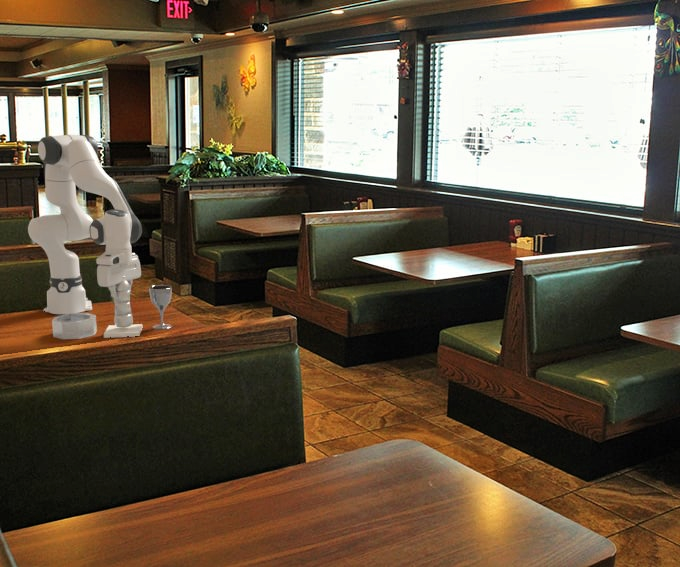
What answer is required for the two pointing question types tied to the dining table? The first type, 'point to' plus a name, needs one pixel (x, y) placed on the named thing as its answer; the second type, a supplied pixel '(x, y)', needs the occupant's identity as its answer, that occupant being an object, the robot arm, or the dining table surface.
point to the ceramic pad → (123, 331)
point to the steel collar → (74, 326)
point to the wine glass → (161, 301)
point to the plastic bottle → (123, 305)
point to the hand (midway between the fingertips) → (121, 294)
